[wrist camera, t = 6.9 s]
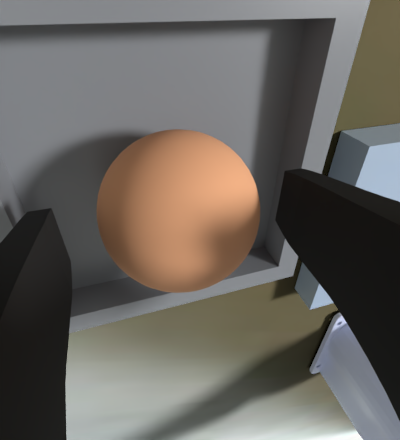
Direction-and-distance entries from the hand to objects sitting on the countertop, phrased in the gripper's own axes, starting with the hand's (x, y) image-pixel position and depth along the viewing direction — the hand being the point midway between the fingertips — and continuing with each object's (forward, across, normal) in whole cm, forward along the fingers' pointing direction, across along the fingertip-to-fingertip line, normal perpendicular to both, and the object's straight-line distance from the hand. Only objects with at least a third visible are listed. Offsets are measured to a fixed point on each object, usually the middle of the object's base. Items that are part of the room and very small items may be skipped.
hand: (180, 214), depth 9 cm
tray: (+3, 0, 0) cm, 3 cm away
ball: (+3, 0, 0) cm, 3 cm away
